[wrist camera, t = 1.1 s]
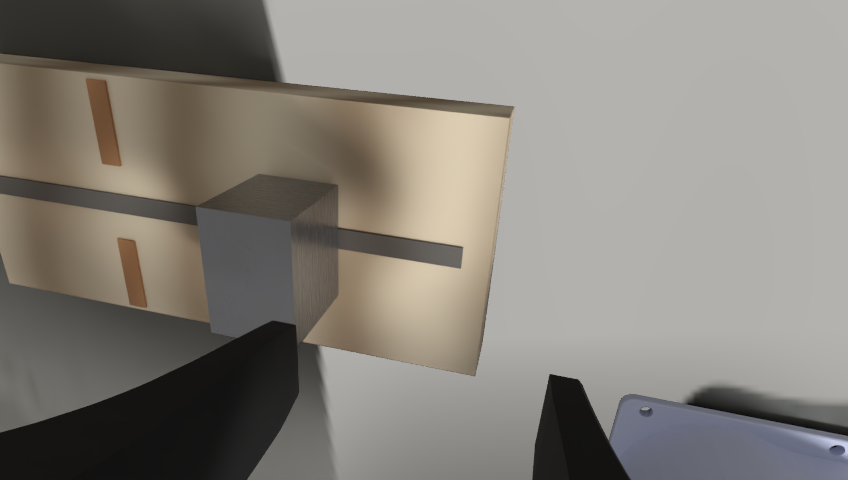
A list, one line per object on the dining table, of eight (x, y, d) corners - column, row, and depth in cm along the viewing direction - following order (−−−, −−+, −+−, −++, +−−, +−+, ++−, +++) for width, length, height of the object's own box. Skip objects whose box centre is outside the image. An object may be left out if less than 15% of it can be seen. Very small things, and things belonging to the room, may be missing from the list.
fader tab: (338, 184, 18) (290, 221, 14) (338, 295, 19) (295, 349, 16) (258, 173, 18) (195, 206, 15) (266, 282, 20) (211, 332, 17)
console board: (514, 106, 18) (509, 118, 16) (482, 341, 22) (474, 378, 20) (0, 53, 22) (-62, 57, 20) (54, 261, 26) (7, 283, 24)
